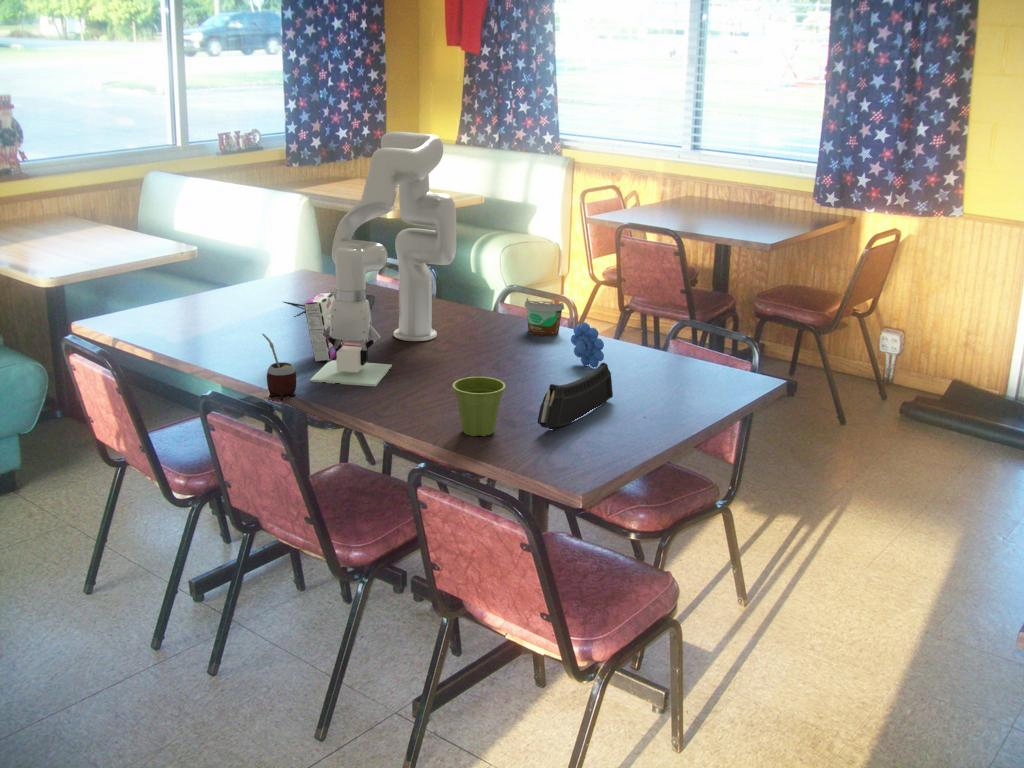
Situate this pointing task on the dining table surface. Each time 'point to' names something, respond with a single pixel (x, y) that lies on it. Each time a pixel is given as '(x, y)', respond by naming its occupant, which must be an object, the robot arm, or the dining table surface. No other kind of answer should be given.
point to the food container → (543, 317)
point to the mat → (352, 374)
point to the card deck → (349, 357)
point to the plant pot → (478, 404)
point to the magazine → (575, 398)
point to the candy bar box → (320, 325)
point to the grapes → (587, 344)
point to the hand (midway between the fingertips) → (351, 362)
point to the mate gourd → (280, 377)
